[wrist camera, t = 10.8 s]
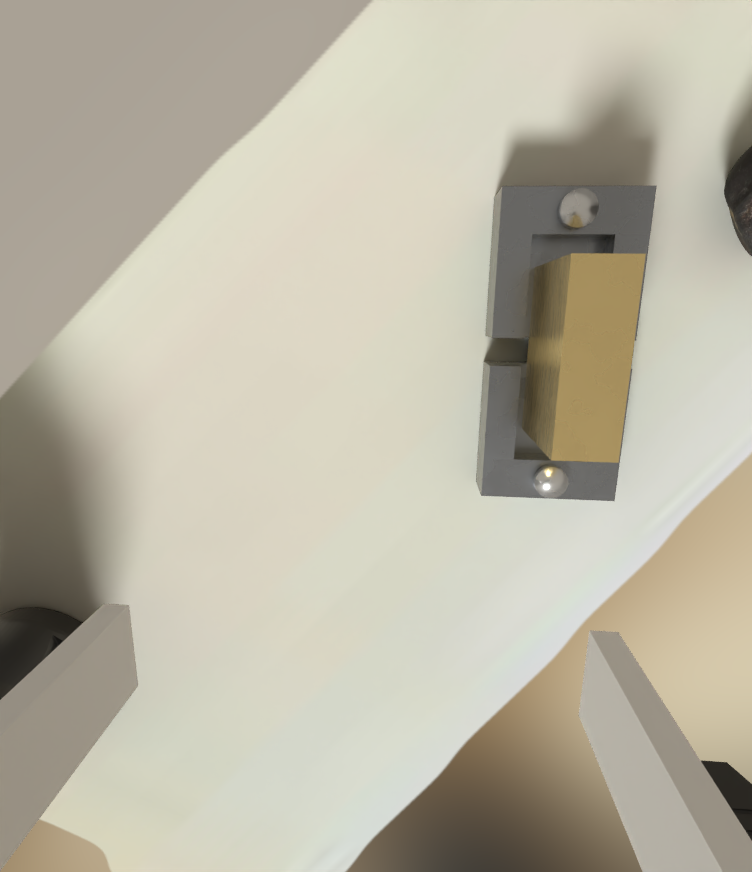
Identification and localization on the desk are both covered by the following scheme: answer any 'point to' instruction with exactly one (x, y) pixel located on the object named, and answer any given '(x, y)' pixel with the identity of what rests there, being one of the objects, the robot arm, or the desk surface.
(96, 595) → the desk surface
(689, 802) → the robot arm
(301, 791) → the desk surface
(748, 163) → the stone
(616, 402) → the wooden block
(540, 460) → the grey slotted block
